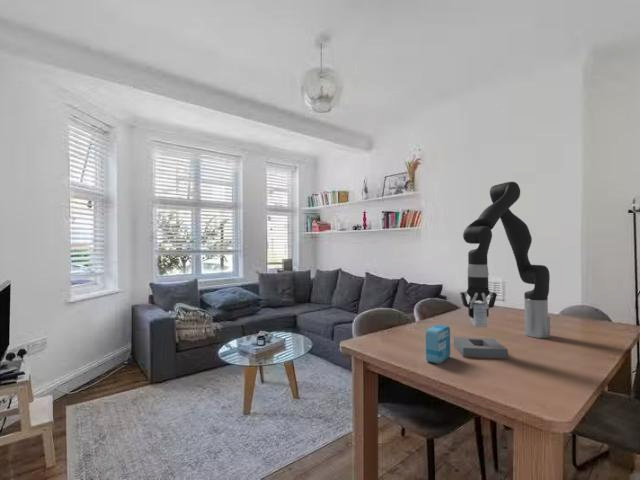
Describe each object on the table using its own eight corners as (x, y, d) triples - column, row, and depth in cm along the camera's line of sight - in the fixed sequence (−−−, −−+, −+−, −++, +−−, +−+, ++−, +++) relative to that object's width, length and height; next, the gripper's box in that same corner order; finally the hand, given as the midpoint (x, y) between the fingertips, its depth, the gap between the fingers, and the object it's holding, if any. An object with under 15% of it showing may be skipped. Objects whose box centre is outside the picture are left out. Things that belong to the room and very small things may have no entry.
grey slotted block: (493, 346, 141) (493, 338, 141) (507, 358, 126) (507, 349, 126) (453, 345, 143) (453, 337, 143) (463, 356, 129) (463, 347, 129)
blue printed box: (437, 365, 120) (437, 331, 120) (425, 362, 123) (425, 329, 123) (450, 356, 129) (450, 325, 129) (439, 354, 132) (438, 323, 132)
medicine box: (487, 327, 131) (487, 305, 131) (475, 326, 132) (474, 304, 132) (481, 322, 138) (481, 301, 138) (470, 322, 139) (470, 301, 139)
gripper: (493, 274, 138) (493, 316, 138) (457, 274, 140) (457, 315, 140) (500, 276, 131) (500, 320, 130) (461, 276, 133) (462, 319, 132)
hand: (478, 317), depth 135 cm, fingers closed on medicine box, 4 cm apart
